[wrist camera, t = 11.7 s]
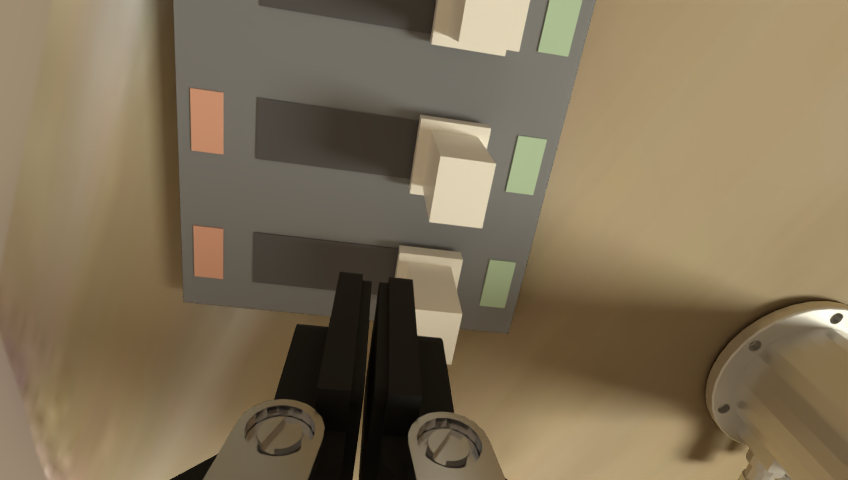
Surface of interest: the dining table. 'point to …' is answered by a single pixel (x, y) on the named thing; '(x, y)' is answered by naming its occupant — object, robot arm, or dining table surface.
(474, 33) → the breaker near
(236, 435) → the robot arm
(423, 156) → the breaker mid
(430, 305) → the breaker far
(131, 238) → the dining table surface
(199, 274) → the console
